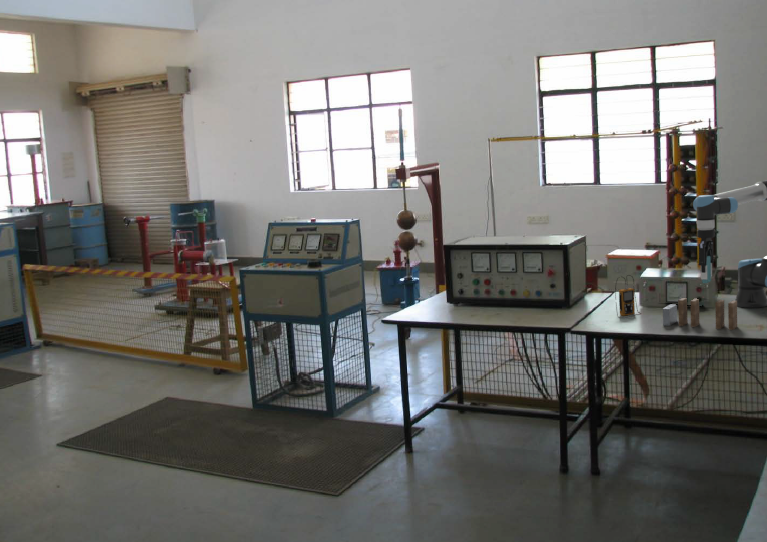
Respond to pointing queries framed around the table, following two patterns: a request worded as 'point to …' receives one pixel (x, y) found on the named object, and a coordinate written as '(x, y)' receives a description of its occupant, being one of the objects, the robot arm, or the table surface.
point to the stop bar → (669, 315)
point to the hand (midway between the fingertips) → (706, 277)
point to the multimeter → (626, 301)
